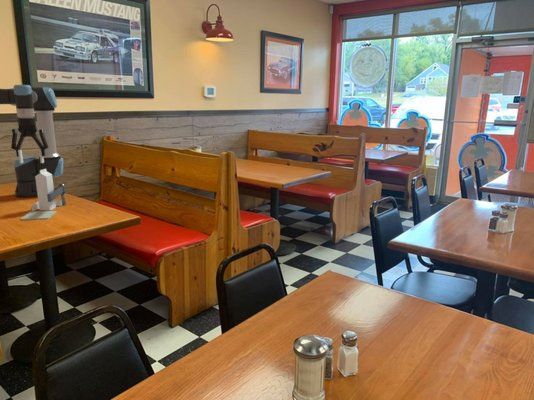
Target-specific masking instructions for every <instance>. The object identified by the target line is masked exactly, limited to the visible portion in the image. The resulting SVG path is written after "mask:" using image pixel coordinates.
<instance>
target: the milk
mask: <svg viewBox="0 0 534 400" xmlns="http://www.w3.org/2000/svg"><path fill="white" fill-rule="evenodd" d="M35 178H36V186H37V194H38V196H37V202H39V208H38V210H39V211H53V210H55V209H56V208H57V206H56V203H55V201H56V199H54V200H53V201H52V202H48V198H47V194H48V193H50V192H51V191H53V190H54V189H55V187H54V180H53V178H54V177H52V174H51V173H49V172H47V171H46V169H43V170H40V174H38V175H36V176H35Z"/></svg>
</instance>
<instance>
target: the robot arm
mask: <svg viewBox="0 0 534 400" xmlns="http://www.w3.org/2000/svg"><path fill="white" fill-rule="evenodd" d="M54 91H55V90H54V89H53V88H51V87H47V86H46V87H44V86H42V87H40V86H39V87H38V86H35V87H33V86H31V85H29V84H14V85H13V88H12V87H11V88H0V105H10V106H14V107H15V108H16V116H17V117H18V118H17V125H18V128H12V129H11V132H12V136H11V137H12V138H11V150H15V153H16V157H17V158H16V159H15V160H14V172H15V173H14V174H15V178H16V179H15V180H16V185H15V189H14V196H15V197H17V198H31V197H38V194H37V186H36V178H35V176H36V175H38V174H40V170H43V169H46V171H47V172H49V173H51V174H52V178H55V177H56V178H57V177H61V176H63V173H64V158H63V157H61V154H60V153H58V151H57V150H58V149H57V141H56V140H57V139H56V134H55V125H54V117H53V115H54V114H53V113H54V112H55V111H56V110H55V109H56V108H57V107H58V102H57V98H56V95H55V92H54ZM35 117H36V118H35ZM36 123H37V124H36ZM19 133H20V135H19V139H18V134H19ZM37 133H38V135H37ZM26 137H30V138H32V139H33V140H34V141H35V143H36V145H37V146H38V147H39V150H38V151H39V152H38V153H39V155H38V158H37V157H36V156H34V155H29V156H24V155H23V150H22V149H21V147H22V145H23V143H24V140H25V138H26ZM17 140H18V141H17ZM23 156H24V157H23Z"/></svg>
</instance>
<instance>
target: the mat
mask: <svg viewBox="0 0 534 400" xmlns="http://www.w3.org/2000/svg"><path fill="white" fill-rule="evenodd" d="M57 212H58V210H50V211H49V210H39V211H37V210H35V211H32V210H31V211H29V212H28V213H26V214H25V215H24V216H22V217H21V218H20V221H24V220H25V221H26V220H28V221H29V220H31V221H33V220H49V219H51V217H53V216H54V215H55V214H56V213H57Z"/></svg>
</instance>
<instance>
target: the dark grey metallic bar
mask: <svg viewBox="0 0 534 400" xmlns="http://www.w3.org/2000/svg"><path fill="white" fill-rule="evenodd" d="M65 188H66V186H65V183H59V185H58V186H57V187H56V188H55V187H54V190H53V191H51V192H50V193H48V194H47V198H48V202H52V201H53V200H54V199H55V200H56V199H57V198H59V196H61V194H62V193H65V194H66V189H65Z"/></svg>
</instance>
